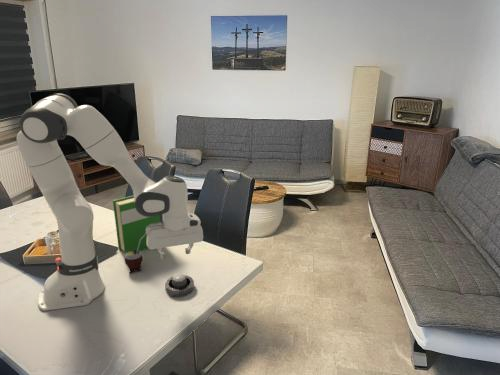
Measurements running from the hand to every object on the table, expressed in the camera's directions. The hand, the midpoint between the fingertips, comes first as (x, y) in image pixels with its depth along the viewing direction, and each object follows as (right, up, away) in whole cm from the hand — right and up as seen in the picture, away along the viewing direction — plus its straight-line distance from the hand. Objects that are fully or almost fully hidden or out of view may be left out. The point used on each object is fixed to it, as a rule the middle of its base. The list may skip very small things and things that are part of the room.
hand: (175, 255), depth 139 cm
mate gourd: (-20, -9, +18) cm, 28 cm away
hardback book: (-23, -2, +36) cm, 43 cm away
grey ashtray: (+1, -14, +5) cm, 14 cm away
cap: (+1, -13, +5) cm, 14 cm away
